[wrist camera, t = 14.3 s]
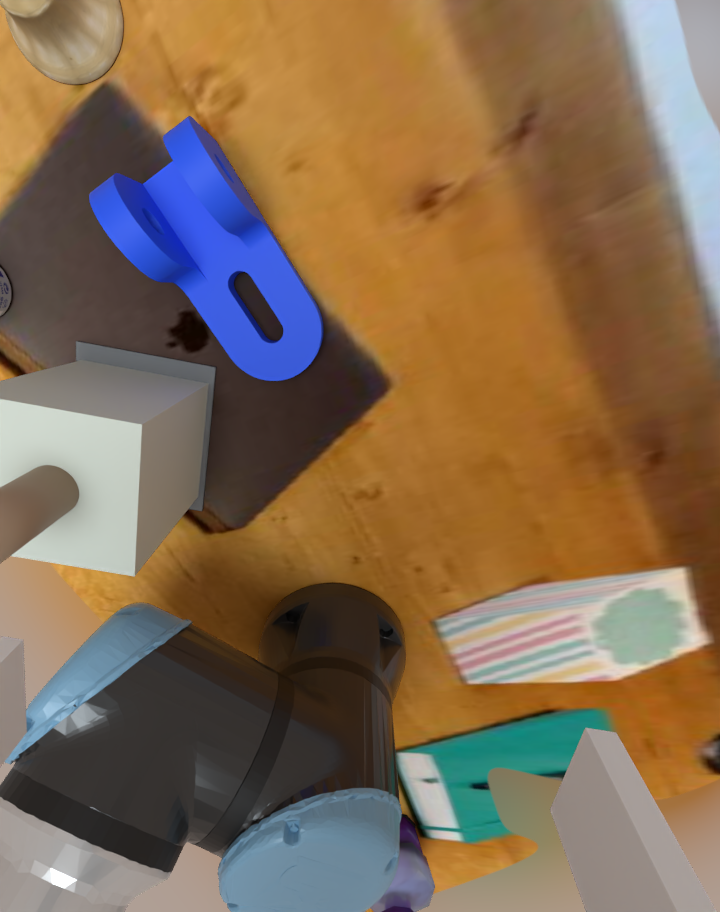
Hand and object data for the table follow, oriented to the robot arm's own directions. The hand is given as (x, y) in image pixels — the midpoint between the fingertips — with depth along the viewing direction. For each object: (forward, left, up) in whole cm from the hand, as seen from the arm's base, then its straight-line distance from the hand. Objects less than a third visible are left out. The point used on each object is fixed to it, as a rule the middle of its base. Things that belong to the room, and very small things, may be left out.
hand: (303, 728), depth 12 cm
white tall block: (-6, +18, -34) cm, 39 cm away
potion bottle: (-52, -15, -35) cm, 64 cm away
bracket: (+9, +11, -35) cm, 38 cm away
